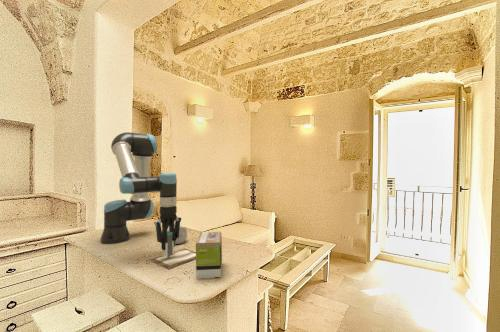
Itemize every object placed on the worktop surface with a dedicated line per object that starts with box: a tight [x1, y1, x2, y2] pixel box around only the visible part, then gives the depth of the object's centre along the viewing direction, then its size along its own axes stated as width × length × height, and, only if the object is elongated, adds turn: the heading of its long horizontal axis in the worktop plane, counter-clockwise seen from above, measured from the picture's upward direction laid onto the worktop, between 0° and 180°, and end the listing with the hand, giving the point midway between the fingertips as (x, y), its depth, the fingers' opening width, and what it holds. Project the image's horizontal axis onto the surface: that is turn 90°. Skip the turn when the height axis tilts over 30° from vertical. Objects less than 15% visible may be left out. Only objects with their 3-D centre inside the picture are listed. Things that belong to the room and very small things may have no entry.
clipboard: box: [150, 247, 196, 270], centre depth 115 cm, size 16×19×1 cm
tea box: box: [195, 231, 223, 280], centre depth 102 cm, size 15×10×15 cm
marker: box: [166, 230, 173, 258], centre depth 113 cm, size 3×3×12 cm
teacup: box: [167, 225, 188, 245], centre depth 140 cm, size 14×11×8 cm
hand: (168, 255), depth 113 cm, fingers closed on marker, 3 cm apart
